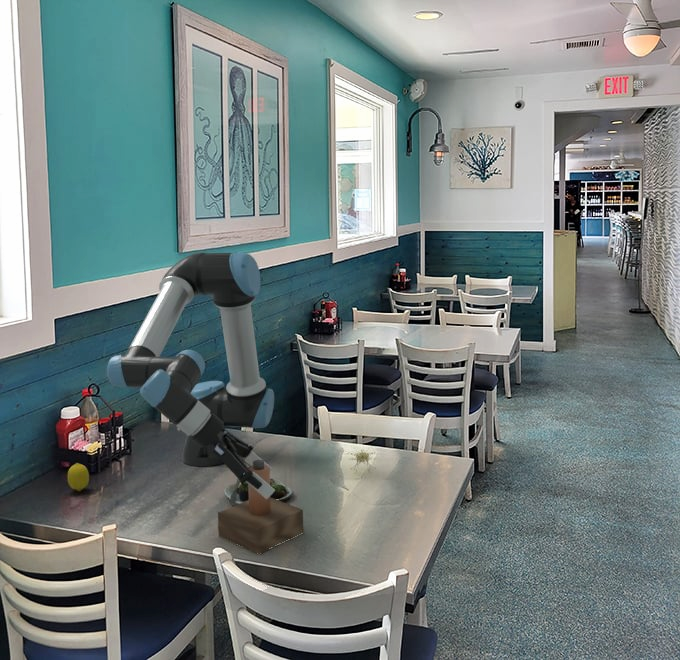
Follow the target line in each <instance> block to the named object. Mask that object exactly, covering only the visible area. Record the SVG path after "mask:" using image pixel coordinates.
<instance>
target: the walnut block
mask: <svg viewBox="0 0 680 660" xmlns="http://www.w3.org/2000/svg"><path fill="white" fill-rule="evenodd" d="M270 501H271V511H270V513H268V514H265V515H252V514H250V512H249V500H248V501H245V502H243V503H240V504H238V505H235V506H234V505H232V506H230V507H228V508H226V509H223V510H221V511H218V512H217V526H218V527H217V528H218V537H219V538H221V537H222V538H221V539H223V538H224V539H223V540H225V539H226V541H227V540H228V542H230V541H231V542H230V543H232V542H233V543H232V544H234V543H235V545H236V544H238V545H240V546H239V547H241V546H242V547H241V548H243V547H244V548H243V549H245V548H246V549H245V550H247V549H248V551H249V550H251V551H250V552H252V551H253V552H252V553H254V552H255V553H254V554H256V553H258V554H260V553H262V552H264V551H266V550H268V549H269V548H271V547H274V546H275V545H277V544H279V543H282V542H284V541H286V540H288V539H291V538H293V537H295V536H297V535H299V534H301V533H303V534H304V510H303V509H302V508H301V507H298V506H294V505H292V504H288V503H287V502H281V501H279V500H276V499H273V498H271V497H270ZM299 536H300V535H299ZM297 537H298V536H297ZM295 538H296V537H295ZM293 539H294V538H293ZM291 540H292V539H291ZM238 545H237V546H238ZM274 548H275V547H274ZM268 551H269V550H268ZM266 552H267V551H266ZM264 553H265V552H264ZM258 554H257V555H258ZM262 554H263V553H262ZM260 555H261V554H260Z"/></svg>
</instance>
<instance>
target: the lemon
mask: <svg viewBox="0 0 680 660" xmlns="http://www.w3.org/2000/svg"><path fill="white" fill-rule="evenodd" d="M89 480H90V474H89V470H88V468H87V467H86V466H85V465H83V464H81V463H79V462H76V463H75V464H73V465H71V467H70V468H69V469H68V471H67V483H68V485H69V487H70V488H71V489H72V490H73V489H74V490H76V491H77V492H81V491H82V490H83V489H85V488H86V487H87V486H88V484H89V482H90V481H89Z"/></svg>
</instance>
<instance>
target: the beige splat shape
mask: <svg viewBox="0 0 680 660" xmlns="http://www.w3.org/2000/svg"><path fill="white" fill-rule="evenodd" d="M370 447H371V448H372V445H370ZM370 447H367V450H369V448H370ZM353 449H354V450H356V449H355V448H354V447H353ZM357 449H358V448H357ZM367 450H363V449H360V450H359V449H358V450H357V452H356V453H354V451H352V452H350V455H352V456H353V457H354V456H355V458H353V457H350V460H354V461H356V463H355V465H354V466H353V467H351V468H350V470H355V472H357V469H359V465H360V464H361V463H363V465H366V467H368V469H367V470H368V472H370V470H372V469H375V467H374V466H372V465H370V463H369V461H370V460H371V457H370V456H372V455H374V454H376V452H375V451H372V452H371V451H369V452H367ZM359 451H360V452H359ZM353 453H354V454H353ZM346 455H349V452H348V453H346ZM374 459H377V457H376V458H374ZM353 468H354V469H353ZM369 469H370V470H369Z"/></svg>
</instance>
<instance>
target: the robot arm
mask: <svg viewBox="0 0 680 660" xmlns="http://www.w3.org/2000/svg"><path fill="white" fill-rule="evenodd" d="M158 290H159V293H158V294H157V296H156V298H155V300H154V302H153V303H152V305H151V306H150V309H149V311H148V312H147V314H146V316H145V318H144V319H143V322H141V323H142V324H141V325H140V327H139V329H138V331H137V333H136V335H135V336H134V339H132V342H131V343H130V346H129V347H128V348H127V351H126V352H125V354H124V355H123V354H119V355H113V356H112V357H111V358H110V359H109V361H108V363H107V367H106V368H107V369H106V375H107V378H108V381H109V383H110V384H111V386H114V387H117V388H118V387H119V388H127V389H129V388H131V389H132V388H134V389H135V388H136V389H137V388H139V394H140V396H141V397H142V398H143V399H144V400H145V401H146V402H147V403H148V404H149V405H150V406H151V407H152V408H154V409H156V411H157V412H159V413H160V414H161V415H163V416H164V417H165V418H167V420H169V421H170V422H171V423H172V424H173V425H175V426H176V427H177V428H176V429H177V431H178V432H183V433H184V434H185V435H186V437H185V442H184V445H183V449H182V451H181V460H182V462H183V463H184V464H185V465H189V466H194V467H211V466H212V467H213V466H218V465H221V464H224V465H225V466H226V467H227V468H228V469H229V470H230V471H231V472H232V474H234V476H235V477H236V478H237V479H239V480H240V483H241V484H244V483H245V482H247V483H248V484H249V485H250V486H251V487H253V488H254V489H255V490H256V491H257V492H258V493H260V494H261V495H262V496H263V497H264V498H266V499H268V498H269V497H270V496H271V494H272V493H273V492H274V491H275V489H274V488H272V487H271V486H270V485H269V484H268V483H267V482H265V481H264V480H263V479H262V478H261V477H260V476H258V475H257V474H256V473H255V472H254V471H253V472H252V471H251V470H250V469H249V468H248V467H250V466H252V465H253V461H256V460H263V459H262V458H261V457H259V456H258V455H257V454H256V453H255V452H254V451H253V449H254V447H253V445H249V443H247V442H244V441H243V440H242V439H240V438H238V437H237V436H235V435H234V434H233V433H231V432H230V431H228V430H227V429H226V428H227V427H230V428H231V427H232V428H251V429H257V428H258V429H262V428H266V427H267V426H268V425H269V424H270V421H271V419H272V416H273V411H274V407H275V406H274V405H275V392H274V390H273V389H272V388H269V387H268V388H267V385H266V384H267V383H266V381H265V379H264V378H262V377H260V371H259V370H260V369H259V362H258V352H257V345H256V344H257V343H256V338H255V337H256V336H255V329H254V323H253V321H254V320H253V314H252V313H253V312H252V306H251V305H252V304H253V302H254V301H256V296H258V294H259V293H260V290H261V274H260V268H259V265H258V262H257V261H256V259H255V257H254V256H252V255H251V254H249V253H245V252H244V253H242V252H237V251H235V252H195V253H192V254H189V255H187V256H184V257H183V258H181V259H180V260H179V261H177V262H175V263H174V265H173V266H171V267H170V269H168V270H167V272H166V273H165V274H164V275H163V277H162V279H161V281H160V282H159V286H158ZM197 296H211V297H212V301H213V302H212V303H213V305H214V306H216V307H217V308H218V309H219V313H220V319H221V325H222V332H223V333H222V334H223V339H224V347H225V352H226V353H225V354H226V358H227V359H226V360H227V367H228V373H229V374H228V375H229V382H228V383H226V387H225V383H224V382H223V381H220V380H210V381H204V382H200V380H201V378H202V375H203V374H204V372H205V369H206V363H205V360H204V358H203V356H202V355H201V354H200V353H199V352H197V351H195V350H193V349H184V350H181V351H179V353H177V354H176V355H175V356H161V354H162V352H163V351H164V349H165V347H166V345H167V342H168V340H169V338H170V336H171V334H172V332H173V330H174V329H175V327H176V325H177V323H178V321H179V319H180V317H181V315H182V313H183V310H184V308H185V307H186V306H187V305H188V304H190V303H191V302H193V299H194V297H197ZM198 382H199V383H198ZM242 458H243V459H242ZM245 462H246V463H247V464H249V466H248V465H247V464H246V463H245ZM264 465H267V466H269V467H270V472H271V471H272V470H273V467H271V466H270V465H269V464H268V463H267V462H266V461H264Z"/></svg>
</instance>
